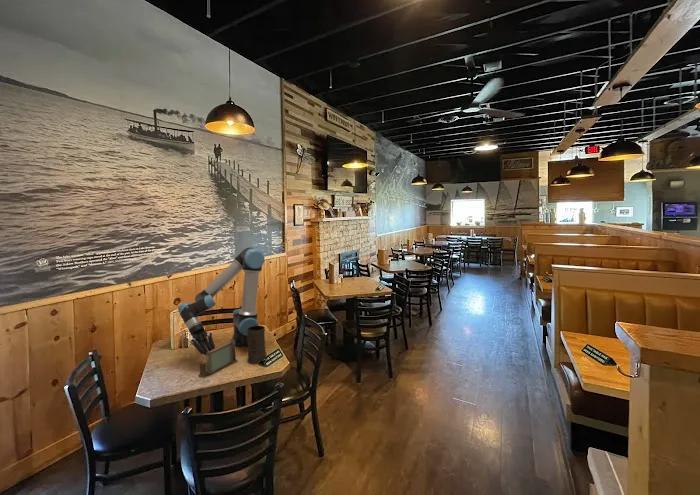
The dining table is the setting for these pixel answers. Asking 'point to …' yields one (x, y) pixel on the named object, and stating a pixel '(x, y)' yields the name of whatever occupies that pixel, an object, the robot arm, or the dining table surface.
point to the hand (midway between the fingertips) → (214, 362)
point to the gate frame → (204, 373)
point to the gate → (219, 357)
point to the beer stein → (256, 344)
